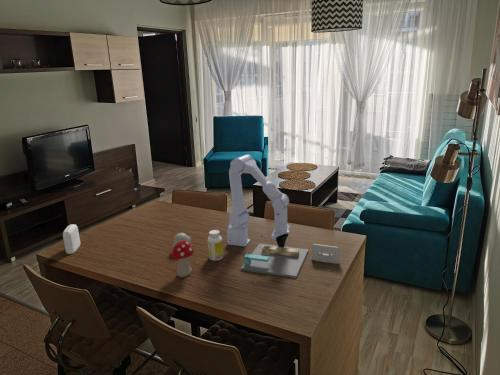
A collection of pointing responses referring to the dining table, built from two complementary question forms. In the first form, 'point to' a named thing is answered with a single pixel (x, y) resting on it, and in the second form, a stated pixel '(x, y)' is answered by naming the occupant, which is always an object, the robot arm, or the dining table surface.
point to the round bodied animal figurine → (181, 238)
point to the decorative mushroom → (183, 257)
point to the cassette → (325, 257)
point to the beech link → (280, 250)
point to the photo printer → (71, 238)
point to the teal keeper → (254, 258)
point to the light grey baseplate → (277, 263)
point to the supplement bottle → (215, 245)
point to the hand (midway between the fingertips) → (281, 248)
